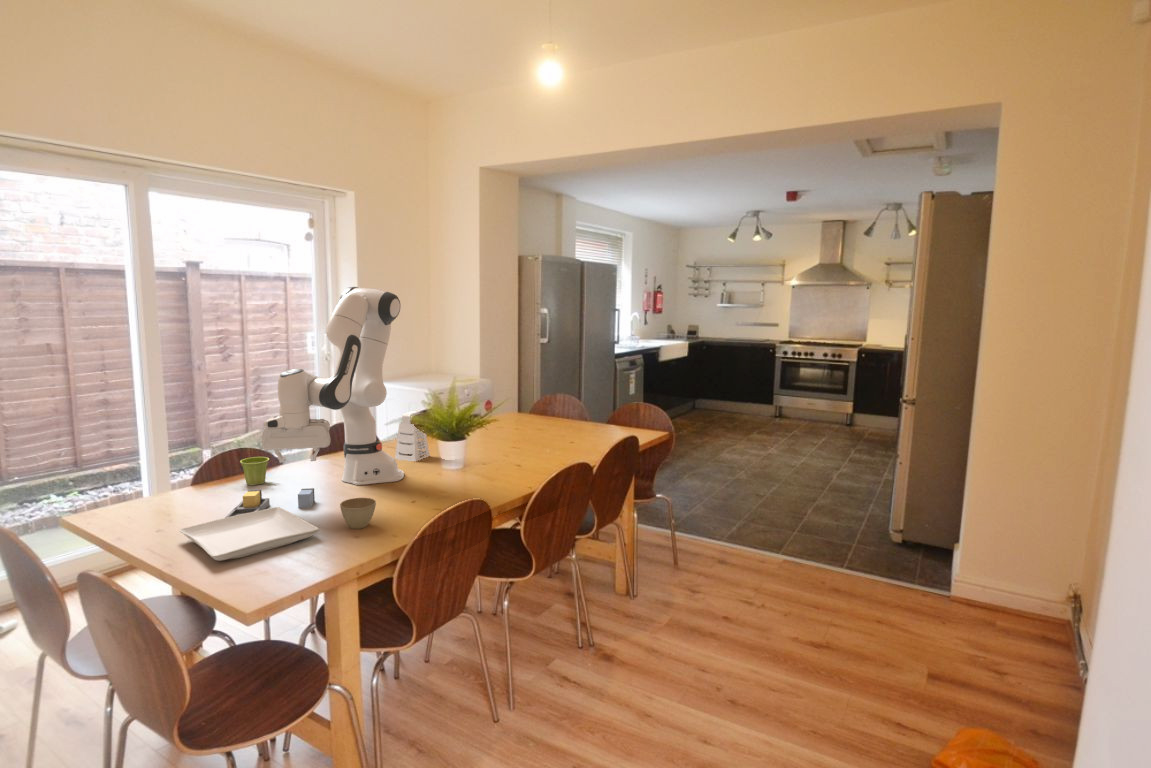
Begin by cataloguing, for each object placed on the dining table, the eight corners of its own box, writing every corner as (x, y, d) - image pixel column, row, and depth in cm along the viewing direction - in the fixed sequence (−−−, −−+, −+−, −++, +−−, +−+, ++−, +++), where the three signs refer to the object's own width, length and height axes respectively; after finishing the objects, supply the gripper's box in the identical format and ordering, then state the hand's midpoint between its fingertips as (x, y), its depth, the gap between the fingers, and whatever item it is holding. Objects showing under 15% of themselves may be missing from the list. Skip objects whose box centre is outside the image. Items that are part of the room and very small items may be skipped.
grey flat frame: (269, 504, 196) (269, 498, 196) (252, 524, 179) (251, 516, 179) (244, 506, 195) (243, 499, 195) (224, 525, 177) (223, 518, 177)
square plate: (213, 570, 148) (212, 555, 147) (178, 541, 166) (177, 527, 165) (320, 539, 168) (320, 526, 168) (279, 516, 186) (278, 504, 185)
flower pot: (343, 534, 172) (342, 510, 171) (339, 523, 181) (338, 500, 180) (379, 528, 177) (378, 505, 176) (373, 518, 185) (372, 495, 184)
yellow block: (262, 503, 195) (261, 489, 194) (256, 509, 189) (255, 495, 188) (249, 504, 194) (248, 490, 193) (243, 510, 188) (242, 496, 187)
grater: (429, 456, 263) (429, 411, 260) (415, 462, 253) (414, 415, 250) (409, 454, 266) (408, 409, 264) (394, 459, 257) (393, 413, 254)
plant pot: (275, 479, 224) (274, 457, 223) (260, 487, 215) (258, 463, 214) (252, 478, 225) (250, 456, 224) (235, 486, 216) (234, 462, 215)
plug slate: (314, 501, 200) (314, 488, 200) (310, 507, 194) (310, 493, 194) (302, 502, 200) (301, 488, 199) (298, 508, 194) (297, 494, 193)
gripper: (331, 416, 198) (333, 457, 200) (264, 419, 194) (268, 460, 196) (327, 420, 192) (329, 462, 194) (258, 423, 188) (261, 465, 190)
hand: (298, 461), depth 195 cm, fingers open, 8 cm apart
